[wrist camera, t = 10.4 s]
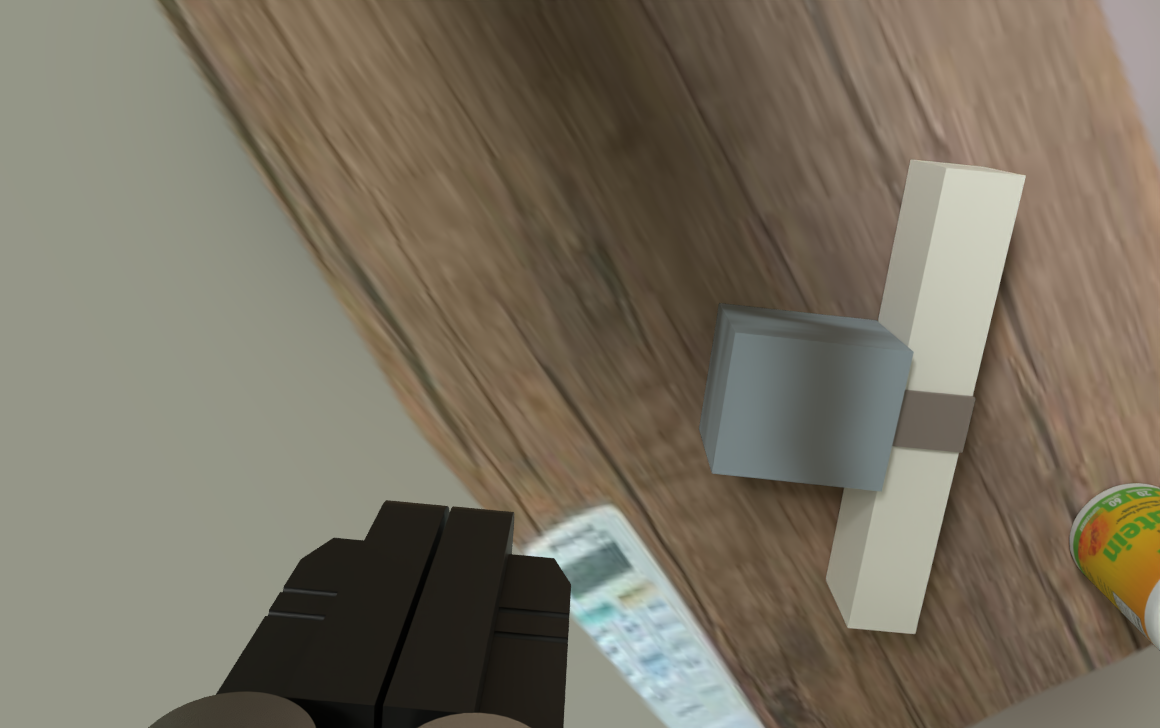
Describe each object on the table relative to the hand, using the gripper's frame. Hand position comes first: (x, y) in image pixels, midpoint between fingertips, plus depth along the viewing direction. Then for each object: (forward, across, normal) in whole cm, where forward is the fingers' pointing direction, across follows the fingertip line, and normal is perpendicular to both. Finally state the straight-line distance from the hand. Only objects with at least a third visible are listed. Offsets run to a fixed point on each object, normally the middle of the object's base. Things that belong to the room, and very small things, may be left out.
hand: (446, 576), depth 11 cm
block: (+29, -11, +6) cm, 32 cm away
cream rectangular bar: (+29, -16, +6) cm, 34 cm away
